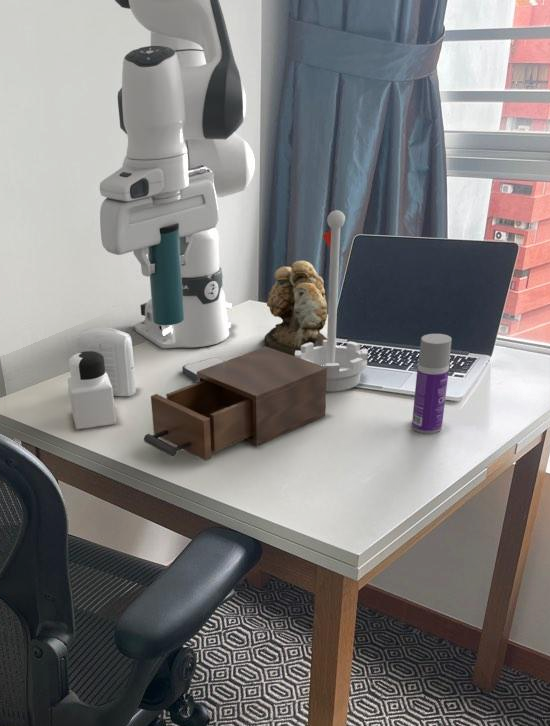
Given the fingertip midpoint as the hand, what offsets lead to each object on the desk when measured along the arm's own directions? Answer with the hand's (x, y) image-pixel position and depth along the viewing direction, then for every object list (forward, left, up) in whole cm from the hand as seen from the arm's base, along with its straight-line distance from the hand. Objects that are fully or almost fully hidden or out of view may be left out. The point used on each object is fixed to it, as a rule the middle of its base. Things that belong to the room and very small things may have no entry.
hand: (164, 270), depth 130 cm
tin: (0, 0, -8) cm, 8 cm away
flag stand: (+6, +32, -27) cm, 42 cm away
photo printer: (-20, 0, -27) cm, 33 cm away
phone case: (-9, +18, -27) cm, 33 cm away
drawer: (+9, -1, -25) cm, 27 cm away
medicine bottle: (-12, -9, -27) cm, 31 cm away
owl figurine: (-11, +40, -27) cm, 49 cm away
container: (+31, +28, -27) cm, 49 cm away
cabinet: (+9, +12, -26) cm, 30 cm away
